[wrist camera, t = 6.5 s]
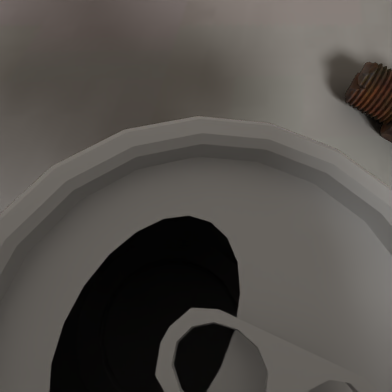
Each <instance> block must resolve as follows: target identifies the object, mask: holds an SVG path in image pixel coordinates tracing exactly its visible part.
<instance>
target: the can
mask: <svg viewBox="0 0 392 392" xmlns="http://www.w3.org/2000/svg"><path fill="white" fill-rule="evenodd" d="M0 392H392V188H390V187H389V186H388V185H386V184H385V183H384V182H382V181H381V180H379V179H378V178H377V177H375V176H374V175H373V174H371V173H370V172H368V171H367V170H366V169H364V168H363V167H362V166H360V165H359V164H357V163H356V162H355V161H353V160H352V159H351V158H349V157H348V156H346V155H345V154H344V153H342V152H341V151H340V150H338V149H336V148H333V147H331V146H328V145H326V144H323V143H320V142H318V141H315V140H313V139H310V138H307V137H305V136H302V135H300V134H297V133H295V132H292V131H289V130H287V129H284V128H282V127H279V126H276V125H274V124H271V123H265V122H255V121H245V120H235V119H224V118H214V117H204V116H195V117H189V118H184V119H179V120H173V121H168V122H162V123H157V124H151V125H146V126H141V127H135V128H130V129H124V130H122V131H120V132H118V133H116V134H114V135H112V136H110V137H108V138H106V139H104V140H102V141H100V142H98V143H96V144H94V145H92V146H90V147H88V148H86V149H84V150H82V151H80V152H78V153H76V154H74V155H73V156H71V157H69V158H67V159H65V160H63V161H61V162H59V163H57V164H55V165H53V166H51V167H50V168H49V169H48V170H47V171H46V172H45V173H44V174H43V175H41V176H40V177H39V178H38V179H37V180H36V181H35V182H34V183H33V184H32V185H31V186H30V187H29V188H27V189H26V190H25V191H24V192H23V193H22V194H21V195H20V196H19V197H18V198H17V199H16V200H14V201H13V202H12V203H11V204H10V205H9V206H8V207H7V208H6V209H5V210H4V211H3V212H2V213H0Z"/></svg>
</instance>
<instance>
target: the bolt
mask: <svg viewBox="0 0 392 392" xmlns="http://www.w3.org/2000/svg"><path fill="white" fill-rule="evenodd" d="M345 97H346V103H348V102H350V105H353V104H354V106H353V108H355V107H358V110H361V109H362V113H363V112H366V115H369V114H370V118H371V117H374V116H375V120H377V119H379V122H383V125H382V127H381V129H380V132H381V137H383V138H385V139H386V140H388V141H390V142H391V143H392V70H391V69H388V70H387V66H385V67H383V65H382V64H379V65H378V64H377V63H371V62H367V63H365V65H364V67H363V69H362V71H361V72H360V73H357V75H356V76H355V78H354V79H353V81H352V83H351V85H350V87H349V89H348V90H347V92H346V94H345Z"/></svg>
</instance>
